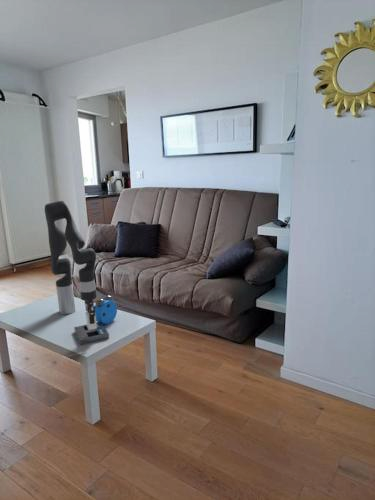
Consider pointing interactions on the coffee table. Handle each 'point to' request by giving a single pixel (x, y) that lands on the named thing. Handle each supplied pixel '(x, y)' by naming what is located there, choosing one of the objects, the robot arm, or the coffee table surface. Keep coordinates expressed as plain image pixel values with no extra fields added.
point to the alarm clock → (105, 310)
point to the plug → (89, 326)
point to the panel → (91, 333)
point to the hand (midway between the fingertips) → (91, 321)
